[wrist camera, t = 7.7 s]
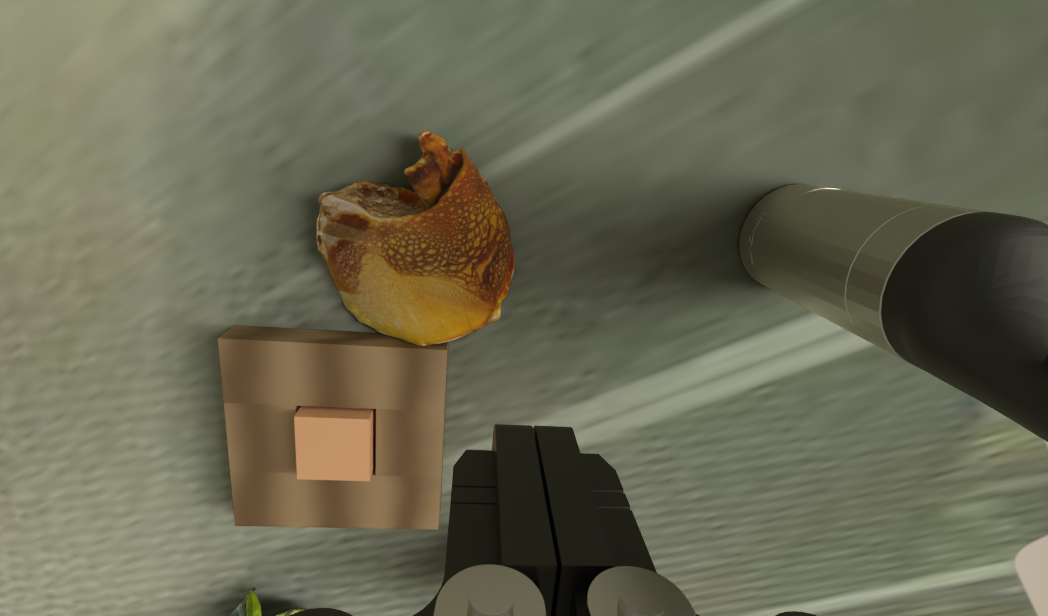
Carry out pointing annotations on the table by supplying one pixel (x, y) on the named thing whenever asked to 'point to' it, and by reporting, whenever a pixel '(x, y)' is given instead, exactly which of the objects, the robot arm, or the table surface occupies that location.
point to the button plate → (333, 381)
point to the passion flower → (255, 607)
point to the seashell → (419, 248)
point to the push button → (335, 443)
